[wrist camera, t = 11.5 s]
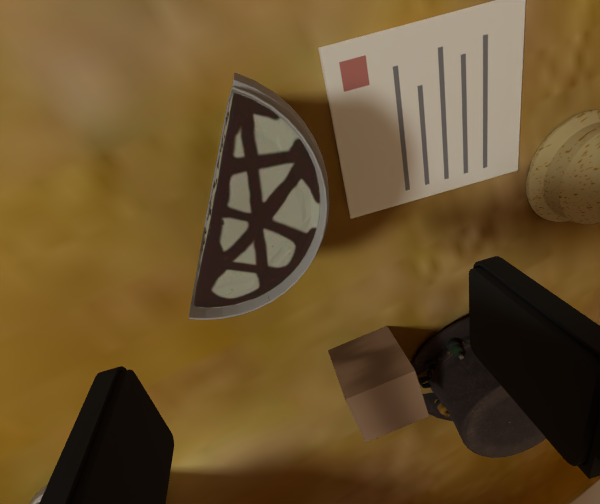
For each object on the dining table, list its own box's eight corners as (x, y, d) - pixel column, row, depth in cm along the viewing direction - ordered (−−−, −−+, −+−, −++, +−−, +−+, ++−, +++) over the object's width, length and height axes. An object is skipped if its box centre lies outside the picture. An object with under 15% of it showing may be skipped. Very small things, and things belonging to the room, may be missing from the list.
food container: (278, 260, 29) (299, 340, 21) (200, 246, 28) (186, 327, 19) (323, 100, 25) (375, 115, 16) (233, 73, 23) (235, 72, 14)
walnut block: (346, 390, 37) (365, 442, 32) (327, 349, 35) (345, 399, 29) (400, 367, 37) (429, 416, 32) (386, 324, 34) (415, 370, 29)
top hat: (539, 382, 42) (625, 469, 33) (418, 429, 42) (471, 529, 33) (536, 280, 35) (645, 353, 26) (392, 336, 35) (449, 429, 26)
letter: (349, 217, 29) (350, 218, 29) (318, 47, 23) (319, 47, 23) (515, 169, 30) (517, 170, 29) (522, -7, 24) (525, -8, 24)
